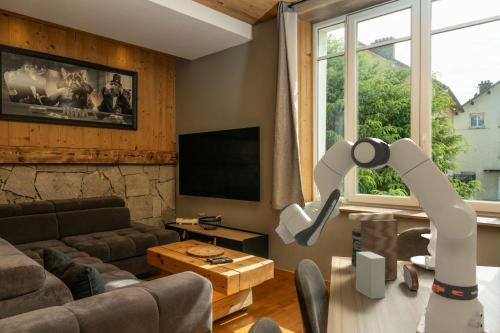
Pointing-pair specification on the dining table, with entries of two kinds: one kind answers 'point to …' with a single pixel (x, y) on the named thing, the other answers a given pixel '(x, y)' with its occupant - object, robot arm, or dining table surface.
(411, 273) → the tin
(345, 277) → the dining table surface
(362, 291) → the pedestal
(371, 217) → the beech bar
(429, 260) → the candlestick
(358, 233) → the coffee jar
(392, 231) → the tall stand
